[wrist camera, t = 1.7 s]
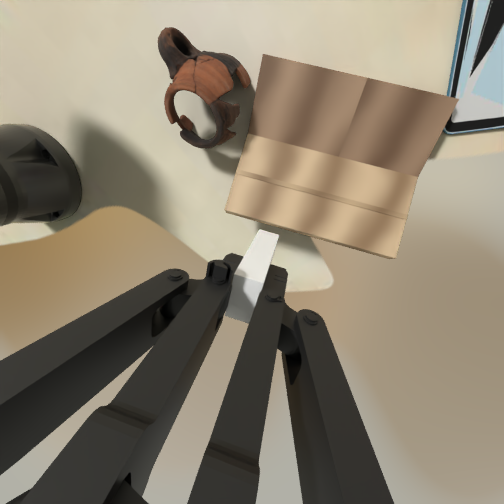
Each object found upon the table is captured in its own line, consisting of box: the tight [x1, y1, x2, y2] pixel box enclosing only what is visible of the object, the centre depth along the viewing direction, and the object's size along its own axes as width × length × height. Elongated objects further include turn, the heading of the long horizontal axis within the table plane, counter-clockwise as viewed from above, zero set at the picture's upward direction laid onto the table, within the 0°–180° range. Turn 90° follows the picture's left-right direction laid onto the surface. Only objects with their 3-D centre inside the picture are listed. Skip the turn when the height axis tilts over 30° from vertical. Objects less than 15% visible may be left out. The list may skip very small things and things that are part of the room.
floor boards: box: [248, 54, 459, 177], centre depth 28 cm, size 21×8×2 cm, turn 77°
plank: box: [224, 134, 418, 259], centre depth 30 cm, size 21×10×2 cm, turn 77°
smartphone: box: [443, 0, 504, 134], centre depth 24 cm, size 7×1×15 cm
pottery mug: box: [158, 27, 250, 148], centre depth 29 cm, size 12×10×8 cm
